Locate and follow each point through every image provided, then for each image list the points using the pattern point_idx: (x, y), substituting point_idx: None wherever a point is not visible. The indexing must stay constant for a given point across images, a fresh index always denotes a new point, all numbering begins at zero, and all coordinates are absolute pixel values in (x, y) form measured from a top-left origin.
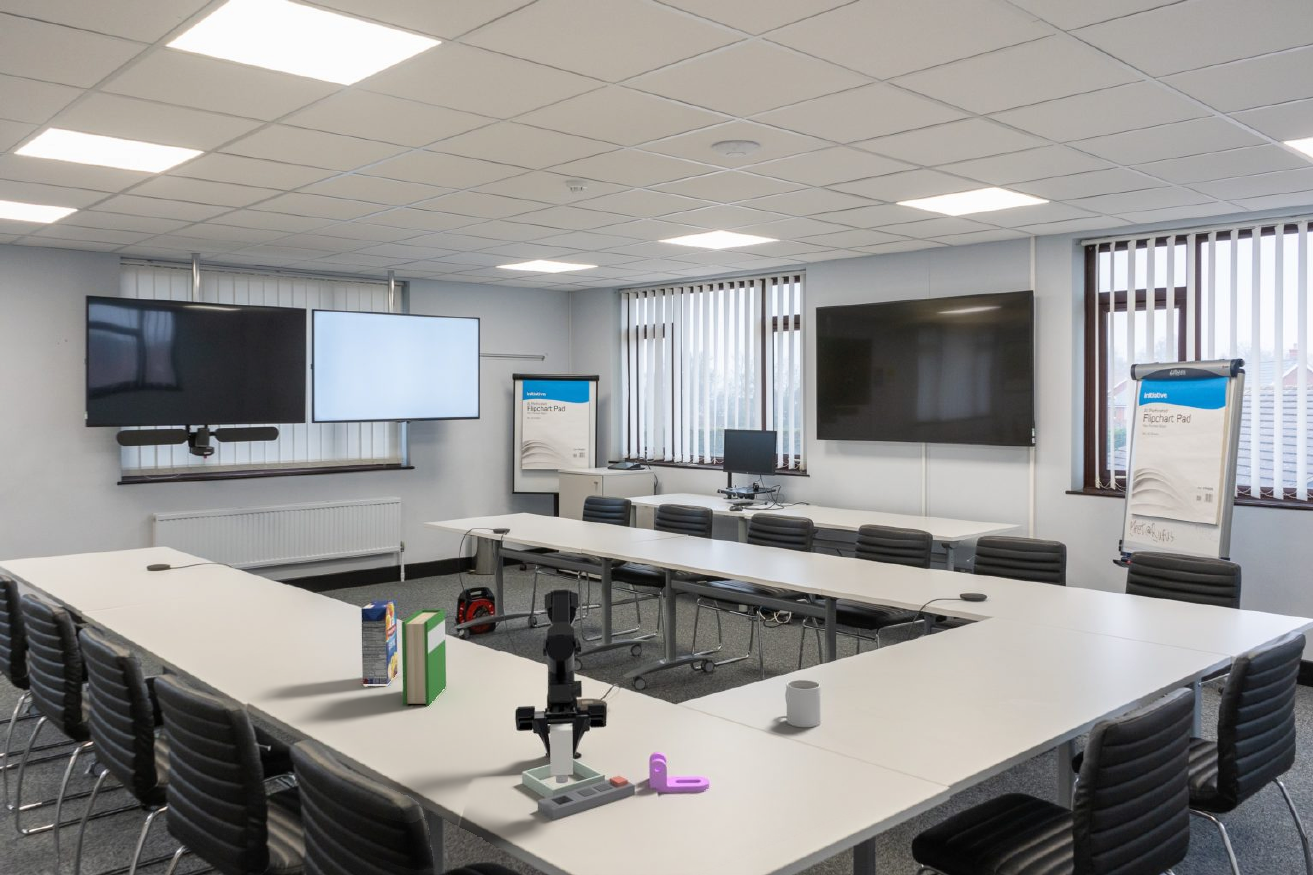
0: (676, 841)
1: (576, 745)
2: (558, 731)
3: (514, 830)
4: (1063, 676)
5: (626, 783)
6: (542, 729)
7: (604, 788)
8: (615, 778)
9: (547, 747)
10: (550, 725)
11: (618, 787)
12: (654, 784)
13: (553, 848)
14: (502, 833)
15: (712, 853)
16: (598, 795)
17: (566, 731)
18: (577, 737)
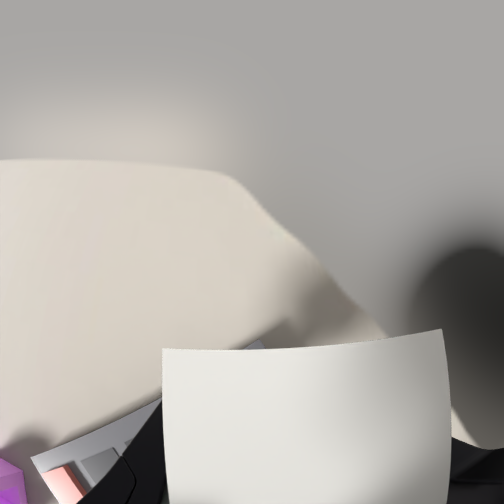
0: (22, 227)
1: (153, 411)
2: (358, 342)
3: (339, 323)
4: None
5: (48, 470)
6: (471, 455)
7: (103, 464)
8: (73, 498)
9: None
10: (444, 496)
11: (67, 459)
12: (4, 468)
13: (244, 230)
14: (360, 310)
15: (4, 187)
16: (120, 422)
17: (252, 354)
18: (134, 455)
